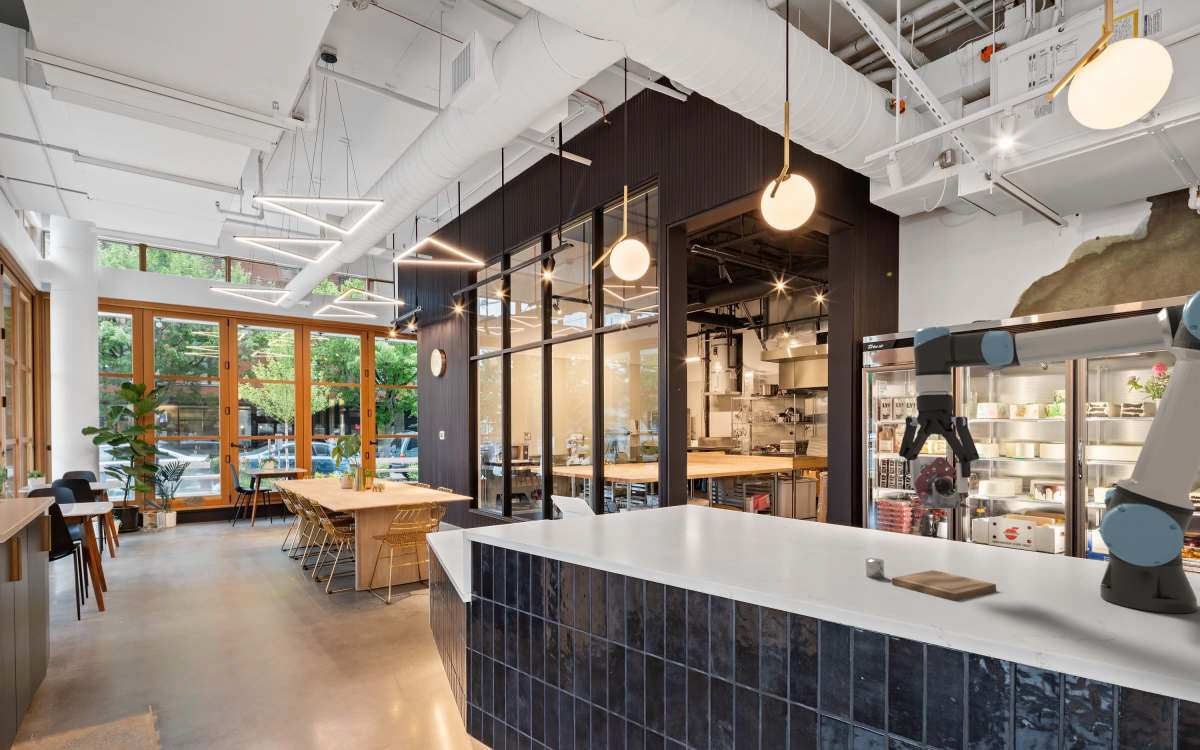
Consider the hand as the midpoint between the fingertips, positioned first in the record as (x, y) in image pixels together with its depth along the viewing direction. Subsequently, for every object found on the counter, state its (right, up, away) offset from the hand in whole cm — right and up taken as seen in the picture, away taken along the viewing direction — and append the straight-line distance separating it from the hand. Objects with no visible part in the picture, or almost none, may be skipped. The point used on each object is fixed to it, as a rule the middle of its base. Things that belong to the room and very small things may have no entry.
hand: (938, 490), depth 145 cm
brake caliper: (+1, -4, 0) cm, 4 cm away
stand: (0, -22, -2) cm, 22 cm away
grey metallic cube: (-11, -23, +8) cm, 26 cm away
